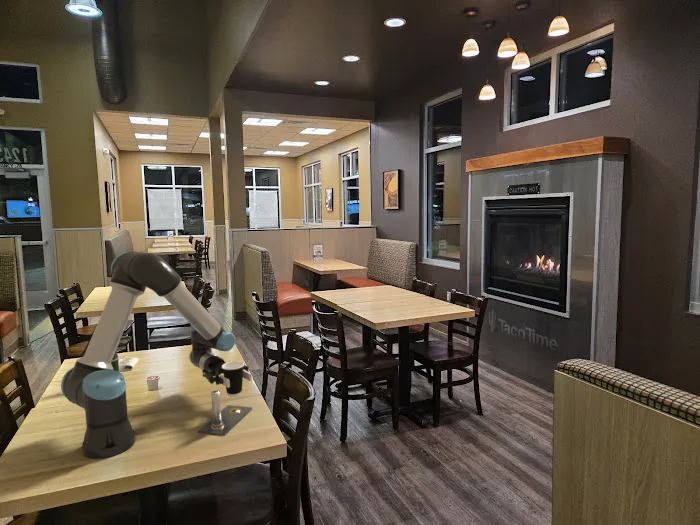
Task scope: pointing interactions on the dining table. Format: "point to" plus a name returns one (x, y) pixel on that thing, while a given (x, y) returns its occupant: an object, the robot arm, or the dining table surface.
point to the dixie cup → (234, 377)
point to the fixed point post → (216, 410)
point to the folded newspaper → (126, 363)
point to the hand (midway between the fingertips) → (239, 380)
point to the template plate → (226, 420)
